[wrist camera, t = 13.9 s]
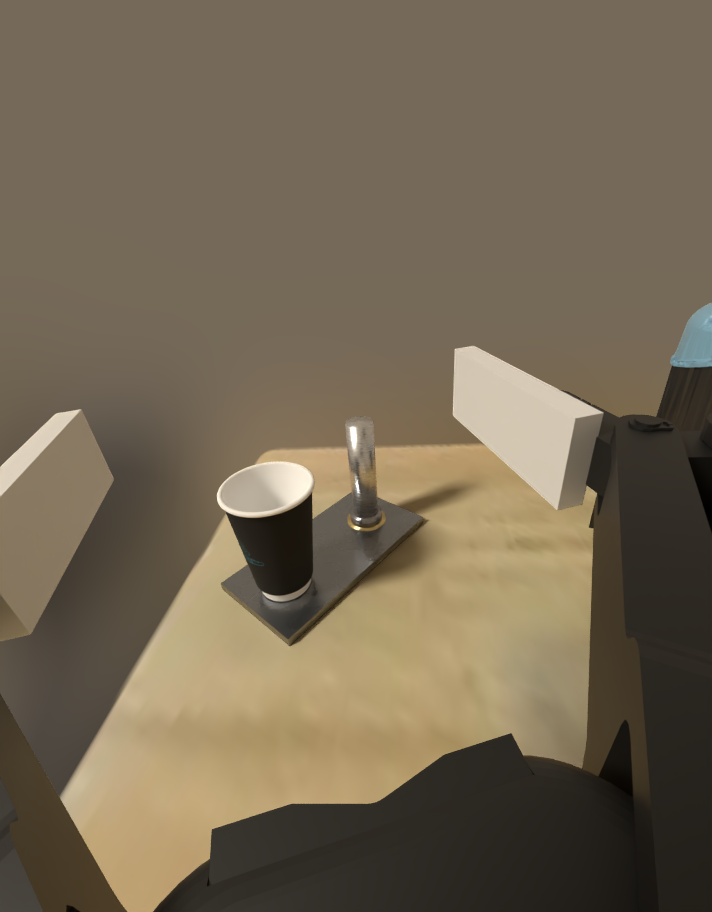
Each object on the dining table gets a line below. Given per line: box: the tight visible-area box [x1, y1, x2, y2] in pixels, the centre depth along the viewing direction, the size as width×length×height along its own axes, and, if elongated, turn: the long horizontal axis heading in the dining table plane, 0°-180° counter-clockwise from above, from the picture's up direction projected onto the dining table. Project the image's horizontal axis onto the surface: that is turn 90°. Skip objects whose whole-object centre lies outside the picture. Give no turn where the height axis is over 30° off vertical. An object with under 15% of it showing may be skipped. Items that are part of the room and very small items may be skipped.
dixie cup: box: [217, 462, 315, 601], centre depth 36 cm, size 8×8×11 cm
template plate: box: [221, 492, 423, 646], centre depth 43 cm, size 20×10×1 cm, turn 139°
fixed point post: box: [345, 416, 382, 528], centre depth 44 cm, size 4×4×12 cm
